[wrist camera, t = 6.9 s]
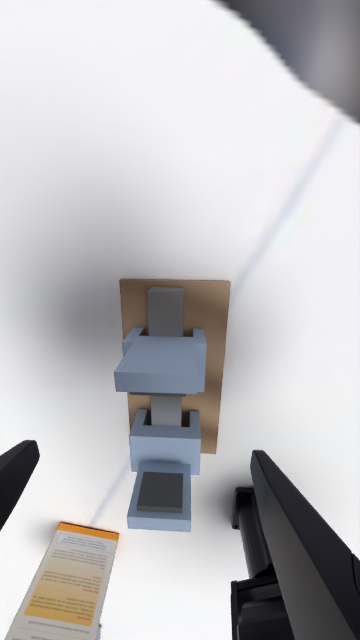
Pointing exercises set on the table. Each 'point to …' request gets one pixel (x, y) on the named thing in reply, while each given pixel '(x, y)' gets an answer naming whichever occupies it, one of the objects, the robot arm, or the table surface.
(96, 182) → the table surface
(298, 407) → the table surface
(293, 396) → the table surface
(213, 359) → the rail board
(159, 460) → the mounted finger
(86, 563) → the supplement box
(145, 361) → the notched blue block
